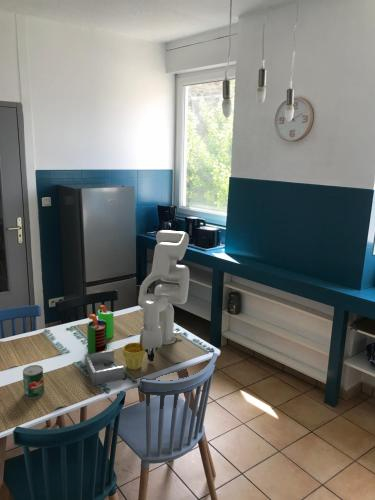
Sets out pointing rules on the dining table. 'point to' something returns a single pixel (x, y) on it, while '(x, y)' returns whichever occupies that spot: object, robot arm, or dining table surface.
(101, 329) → the motor
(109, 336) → the green-shelled ribbed roller
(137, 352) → the plant pot
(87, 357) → the grey open box
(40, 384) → the canned tomato
